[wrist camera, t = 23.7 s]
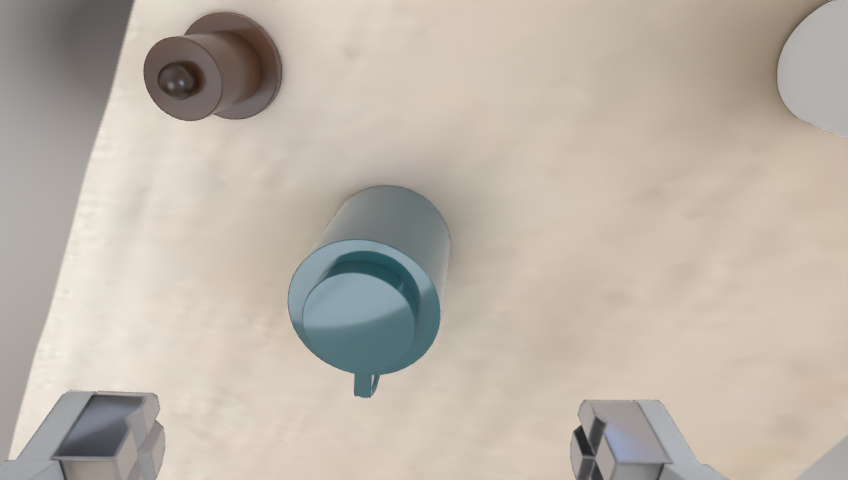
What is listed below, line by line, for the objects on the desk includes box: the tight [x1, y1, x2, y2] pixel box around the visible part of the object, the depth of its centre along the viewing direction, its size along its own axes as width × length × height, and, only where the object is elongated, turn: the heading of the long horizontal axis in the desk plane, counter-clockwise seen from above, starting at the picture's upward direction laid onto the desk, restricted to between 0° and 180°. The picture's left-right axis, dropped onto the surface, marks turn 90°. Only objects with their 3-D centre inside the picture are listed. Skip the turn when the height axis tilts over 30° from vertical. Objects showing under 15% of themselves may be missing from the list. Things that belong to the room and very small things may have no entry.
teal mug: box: [288, 186, 450, 398], centre depth 38 cm, size 12×9×12 cm
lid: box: [144, 12, 282, 121], centre depth 35 cm, size 7×7×9 cm
